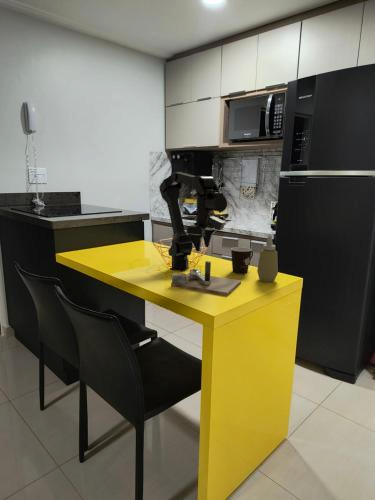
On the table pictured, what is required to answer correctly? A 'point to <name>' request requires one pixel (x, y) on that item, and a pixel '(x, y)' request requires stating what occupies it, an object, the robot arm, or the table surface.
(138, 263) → the table surface
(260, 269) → the squeeze bottle
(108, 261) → the table surface
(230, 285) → the base
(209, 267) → the lever
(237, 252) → the coffee mug
